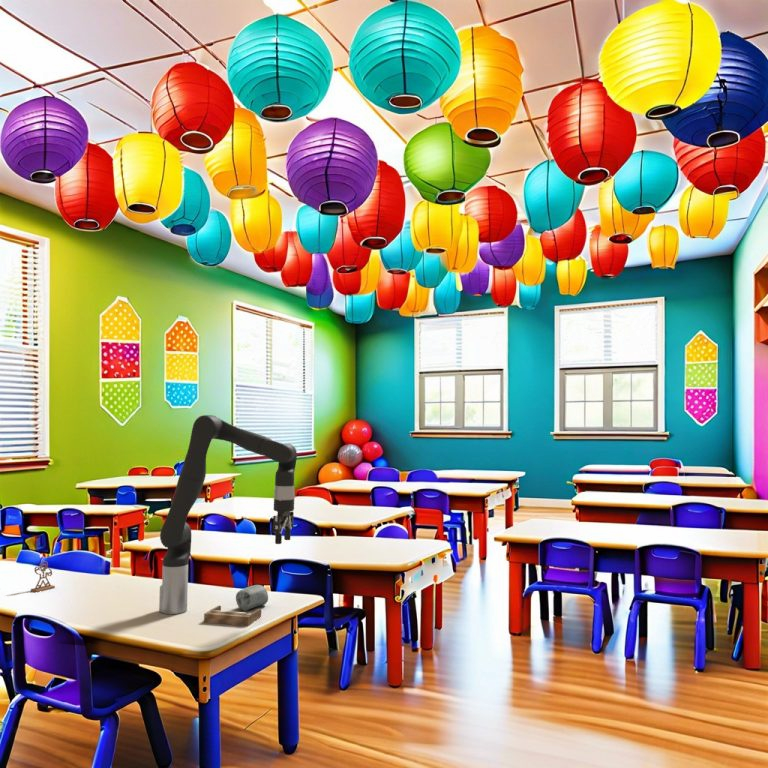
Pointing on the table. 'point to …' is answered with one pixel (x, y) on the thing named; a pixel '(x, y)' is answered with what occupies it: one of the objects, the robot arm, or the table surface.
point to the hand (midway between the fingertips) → (282, 541)
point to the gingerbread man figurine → (40, 589)
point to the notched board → (231, 617)
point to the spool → (251, 597)
